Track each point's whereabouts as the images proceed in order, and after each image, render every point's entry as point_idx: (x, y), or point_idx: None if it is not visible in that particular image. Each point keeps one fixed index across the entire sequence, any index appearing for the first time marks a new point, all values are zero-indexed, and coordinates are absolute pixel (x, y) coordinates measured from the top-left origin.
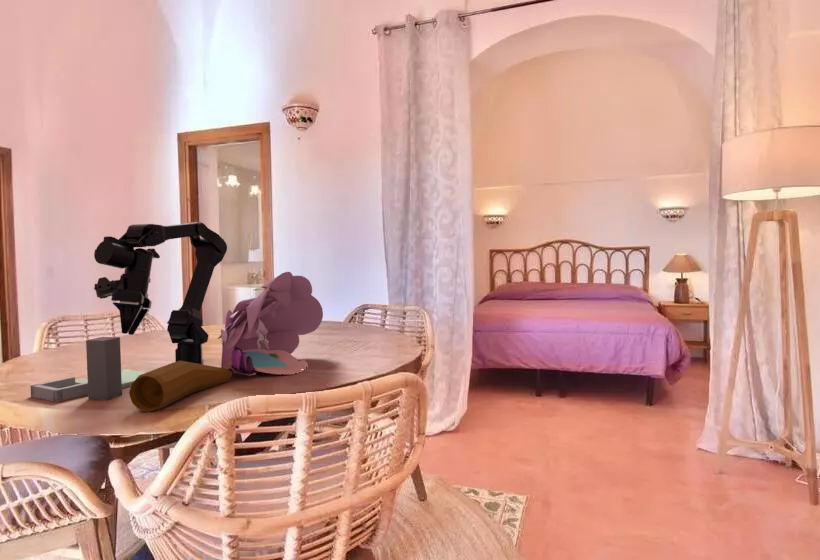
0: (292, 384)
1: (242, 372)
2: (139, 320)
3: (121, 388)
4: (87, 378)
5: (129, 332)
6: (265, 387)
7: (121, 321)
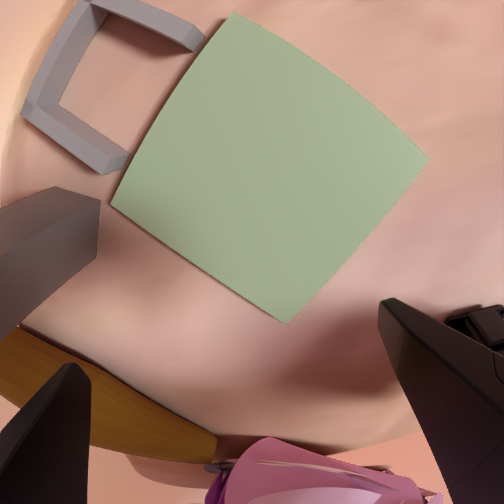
0: (184, 486)
1: (219, 469)
2: (437, 444)
3: (85, 264)
4: (275, 52)
5: (385, 315)
6: (166, 468)
7: (14, 424)
